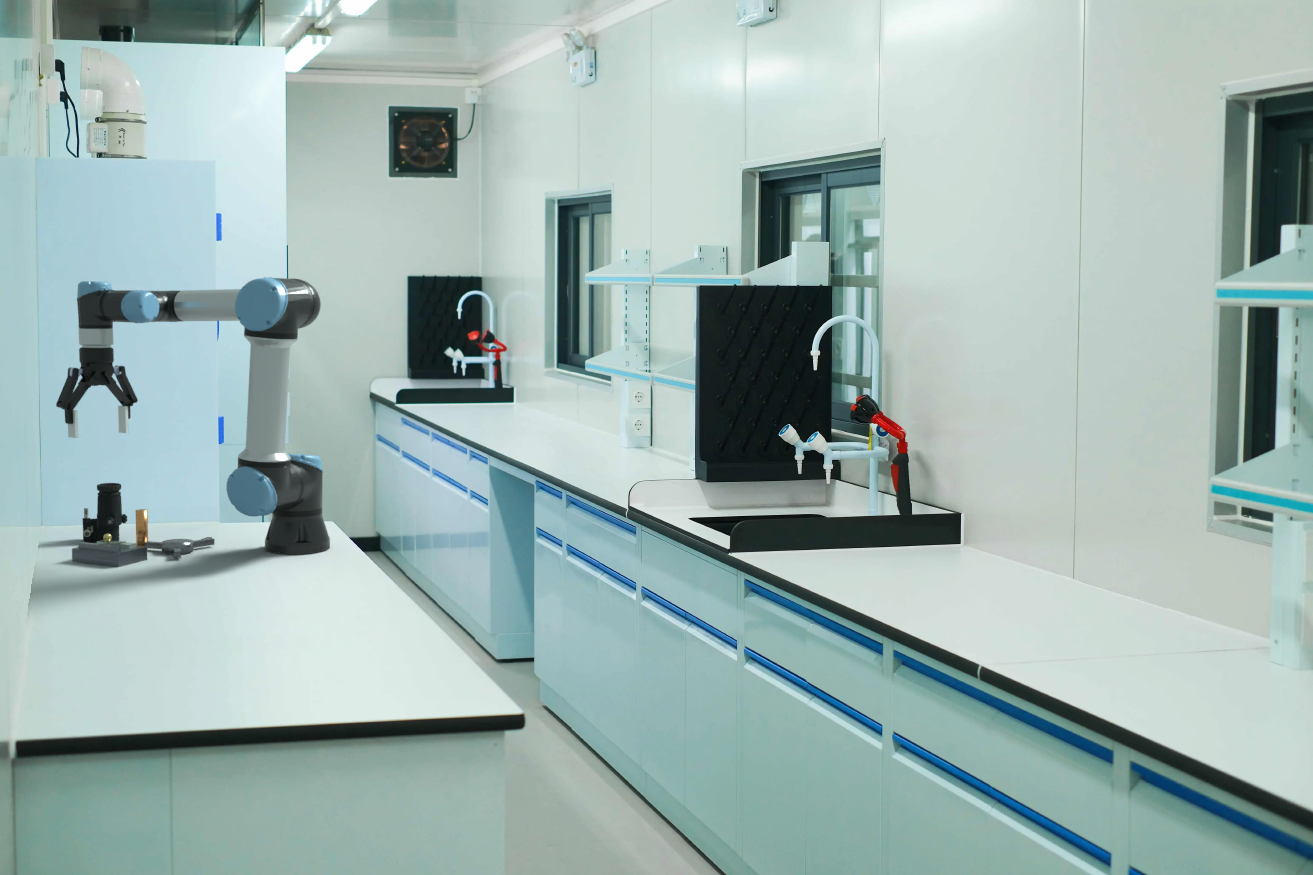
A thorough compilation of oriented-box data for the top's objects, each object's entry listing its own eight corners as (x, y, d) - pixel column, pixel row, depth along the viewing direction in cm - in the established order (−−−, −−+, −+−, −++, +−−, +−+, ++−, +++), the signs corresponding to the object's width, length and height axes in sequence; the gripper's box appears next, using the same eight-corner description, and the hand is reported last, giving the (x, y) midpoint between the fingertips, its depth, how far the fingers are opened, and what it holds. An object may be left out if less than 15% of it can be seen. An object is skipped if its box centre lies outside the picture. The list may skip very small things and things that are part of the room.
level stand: (147, 559, 292) (146, 535, 291) (118, 567, 283) (118, 542, 283) (101, 554, 296) (101, 530, 296) (72, 561, 288) (71, 537, 287)
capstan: (215, 545, 308) (215, 507, 307) (179, 559, 292) (178, 519, 291) (156, 541, 310) (155, 504, 309) (116, 555, 294) (116, 515, 293)
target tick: (205, 543, 311) (205, 539, 311) (201, 543, 312) (201, 539, 311) (212, 541, 314) (212, 537, 314) (207, 540, 314) (207, 536, 314)
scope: (81, 483, 311) (125, 481, 316) (82, 538, 313) (126, 536, 317) (81, 488, 304) (127, 486, 308) (83, 545, 306) (128, 542, 310)
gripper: (131, 344, 317) (133, 429, 319) (38, 347, 295) (41, 438, 298) (151, 345, 313) (153, 431, 315) (57, 348, 292) (61, 440, 294)
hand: (99, 435), depth 307 cm, fingers open, 13 cm apart
